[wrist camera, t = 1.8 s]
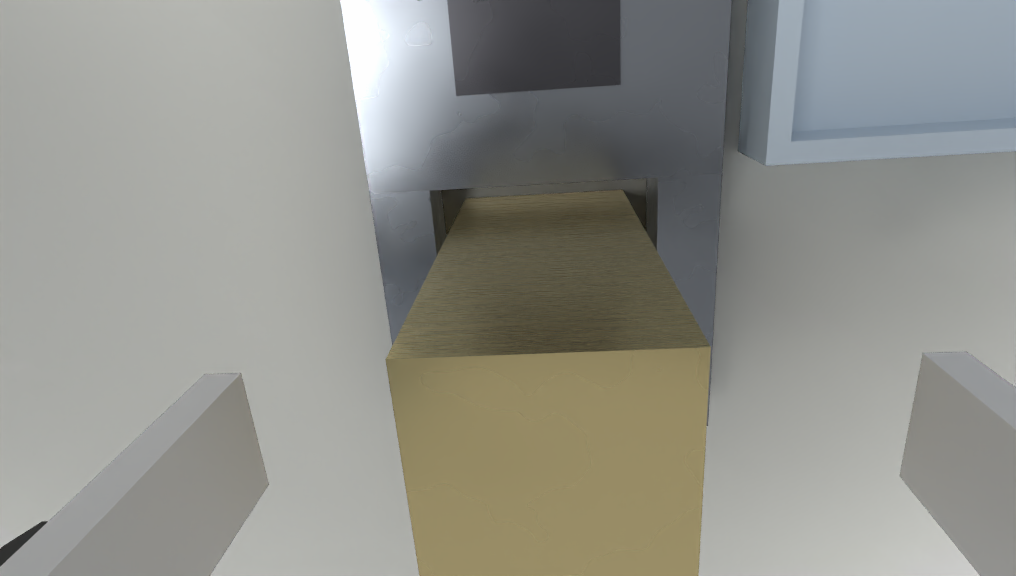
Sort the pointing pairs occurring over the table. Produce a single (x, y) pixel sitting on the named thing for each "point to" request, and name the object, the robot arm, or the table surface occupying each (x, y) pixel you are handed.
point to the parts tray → (877, 79)
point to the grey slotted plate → (541, 118)
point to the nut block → (551, 396)
